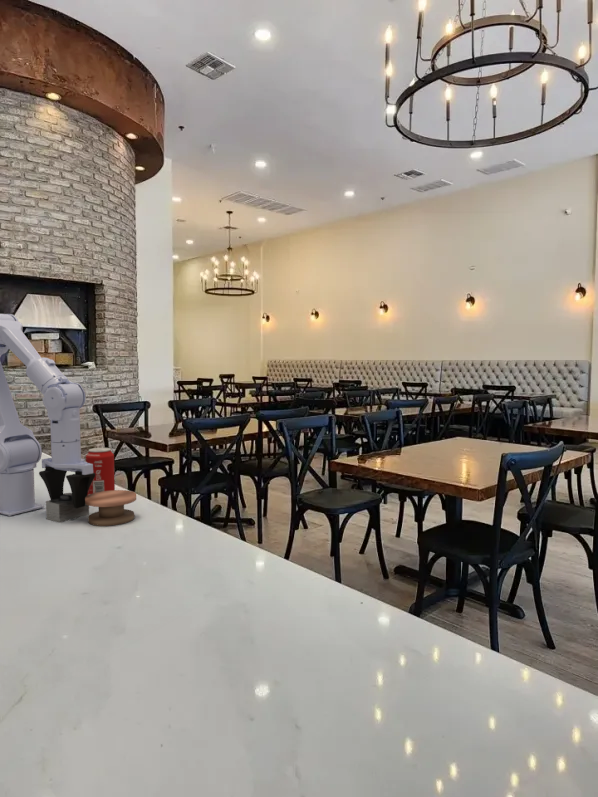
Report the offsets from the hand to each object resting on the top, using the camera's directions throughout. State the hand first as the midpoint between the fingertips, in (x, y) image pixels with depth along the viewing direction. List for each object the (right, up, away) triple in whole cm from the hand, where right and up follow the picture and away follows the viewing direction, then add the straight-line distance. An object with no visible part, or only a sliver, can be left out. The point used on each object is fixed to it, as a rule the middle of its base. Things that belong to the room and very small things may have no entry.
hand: (68, 504), depth 115 cm
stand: (+10, -3, -2) cm, 10 cm away
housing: (0, -3, 0) cm, 3 cm away
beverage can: (+1, -2, +15) cm, 15 cm away
